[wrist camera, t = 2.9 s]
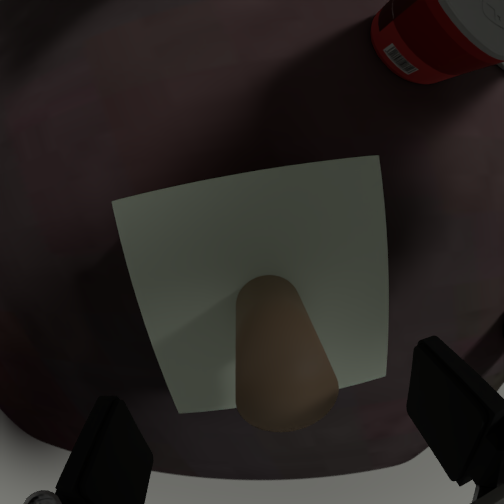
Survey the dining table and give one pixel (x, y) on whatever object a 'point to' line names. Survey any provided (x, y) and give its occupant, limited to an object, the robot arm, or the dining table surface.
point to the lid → (264, 287)
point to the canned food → (438, 37)
